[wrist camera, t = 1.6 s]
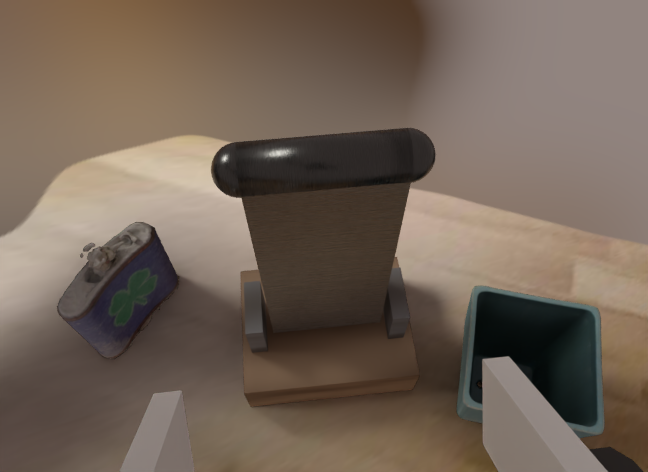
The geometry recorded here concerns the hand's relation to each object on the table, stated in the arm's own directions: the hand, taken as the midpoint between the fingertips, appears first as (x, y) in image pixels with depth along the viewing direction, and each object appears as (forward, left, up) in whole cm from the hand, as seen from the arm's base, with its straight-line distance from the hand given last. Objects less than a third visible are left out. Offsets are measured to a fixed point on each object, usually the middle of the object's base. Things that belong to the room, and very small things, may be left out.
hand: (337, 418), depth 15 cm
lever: (-5, +12, -24) cm, 27 cm away
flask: (-21, +9, -29) cm, 37 cm away
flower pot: (+10, +12, -29) cm, 33 cm away
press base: (-5, +12, -29) cm, 31 cm away
